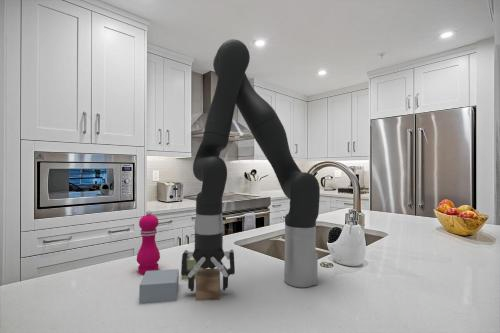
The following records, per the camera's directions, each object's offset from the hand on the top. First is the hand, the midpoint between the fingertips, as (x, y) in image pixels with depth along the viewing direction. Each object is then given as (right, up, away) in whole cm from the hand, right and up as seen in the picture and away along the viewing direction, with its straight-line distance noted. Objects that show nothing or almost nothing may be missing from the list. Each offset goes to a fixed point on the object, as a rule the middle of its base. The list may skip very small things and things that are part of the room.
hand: (208, 289), depth 72 cm
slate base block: (-13, -2, 0) cm, 13 cm away
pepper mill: (-22, -1, +15) cm, 27 cm away
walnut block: (0, -1, 0) cm, 1 cm away
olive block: (-7, -1, +13) cm, 14 cm away
